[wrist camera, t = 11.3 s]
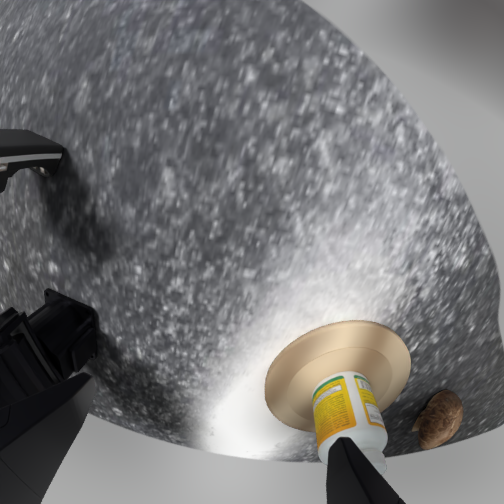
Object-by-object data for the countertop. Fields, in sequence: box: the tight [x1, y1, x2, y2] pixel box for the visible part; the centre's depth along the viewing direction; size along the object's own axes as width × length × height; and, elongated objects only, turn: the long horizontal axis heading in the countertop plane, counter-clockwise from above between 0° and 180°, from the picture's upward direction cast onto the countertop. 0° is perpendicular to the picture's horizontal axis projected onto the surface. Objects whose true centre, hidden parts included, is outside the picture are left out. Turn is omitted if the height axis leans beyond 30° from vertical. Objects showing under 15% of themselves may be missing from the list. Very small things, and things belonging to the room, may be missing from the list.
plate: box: [265, 320, 411, 432], centre depth 22 cm, size 14×14×1 cm
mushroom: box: [412, 390, 463, 450], centre depth 22 cm, size 8×8×6 cm
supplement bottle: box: [312, 371, 388, 475], centre depth 17 cm, size 5×5×10 cm
